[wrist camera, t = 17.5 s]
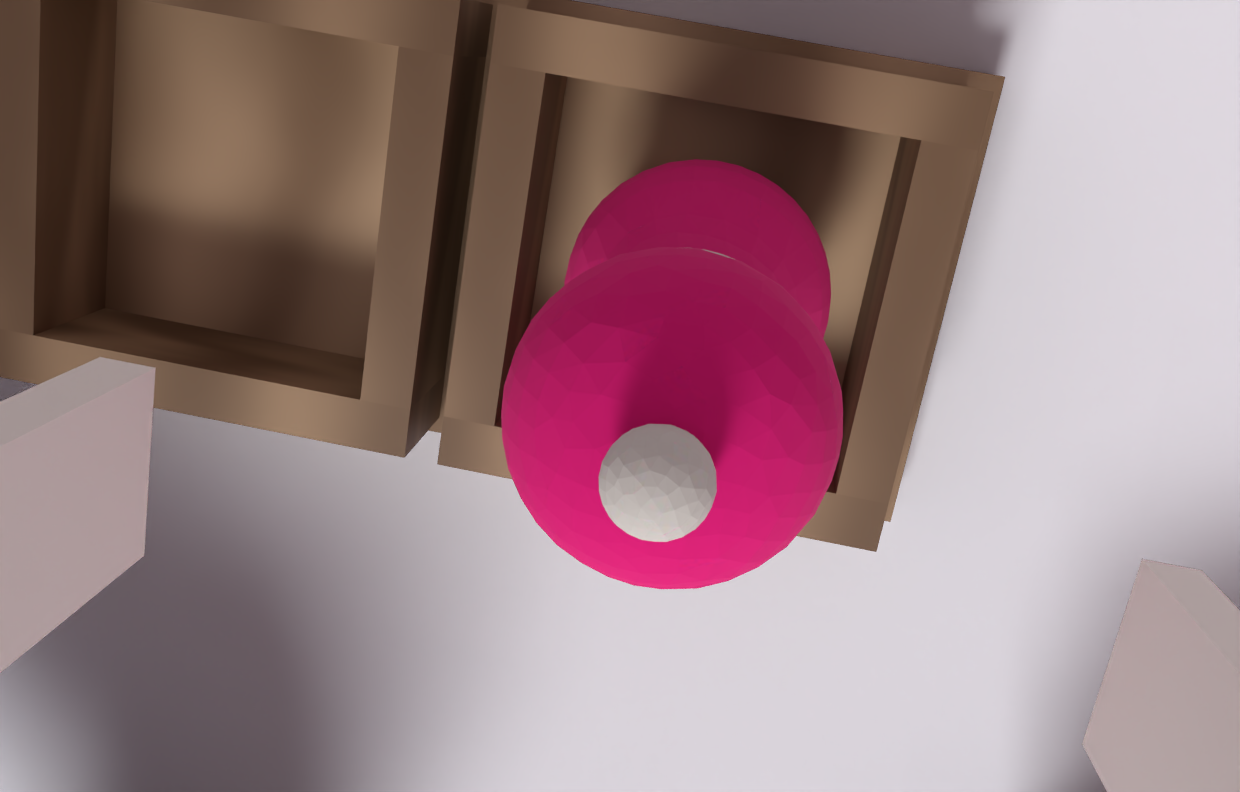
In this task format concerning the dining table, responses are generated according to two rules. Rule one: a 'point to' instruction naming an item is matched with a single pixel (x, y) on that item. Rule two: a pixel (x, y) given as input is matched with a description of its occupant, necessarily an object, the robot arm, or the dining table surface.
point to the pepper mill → (679, 381)
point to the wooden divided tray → (442, 202)
